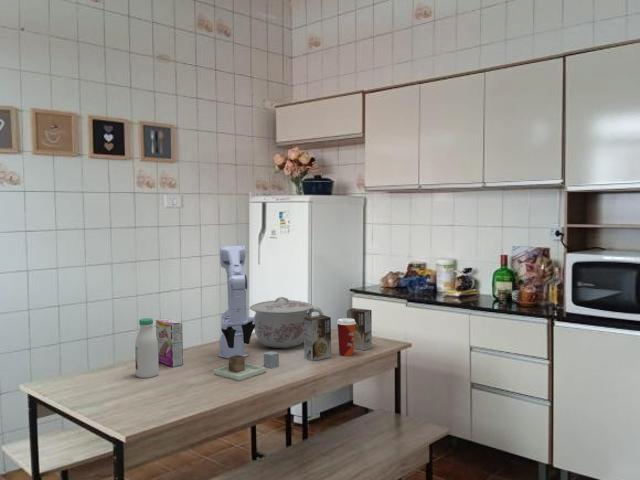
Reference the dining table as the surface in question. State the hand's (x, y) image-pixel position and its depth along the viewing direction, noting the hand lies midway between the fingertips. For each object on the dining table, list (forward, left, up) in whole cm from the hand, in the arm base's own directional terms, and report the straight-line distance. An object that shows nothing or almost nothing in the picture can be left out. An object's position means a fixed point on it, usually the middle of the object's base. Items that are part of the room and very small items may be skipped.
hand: (238, 345), depth 204 cm
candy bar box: (-28, -9, -10) cm, 31 cm away
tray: (+2, -2, -9) cm, 10 cm away
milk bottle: (-22, -23, -10) cm, 34 cm away
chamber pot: (-14, +39, -10) cm, 43 cm away
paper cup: (+17, +43, -10) cm, 47 cm away
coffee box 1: (+11, +32, -10) cm, 35 cm away
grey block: (+5, +12, -10) cm, 16 cm away
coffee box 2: (+15, +55, -10) cm, 58 cm away
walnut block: (0, -1, -9) cm, 9 cm away
